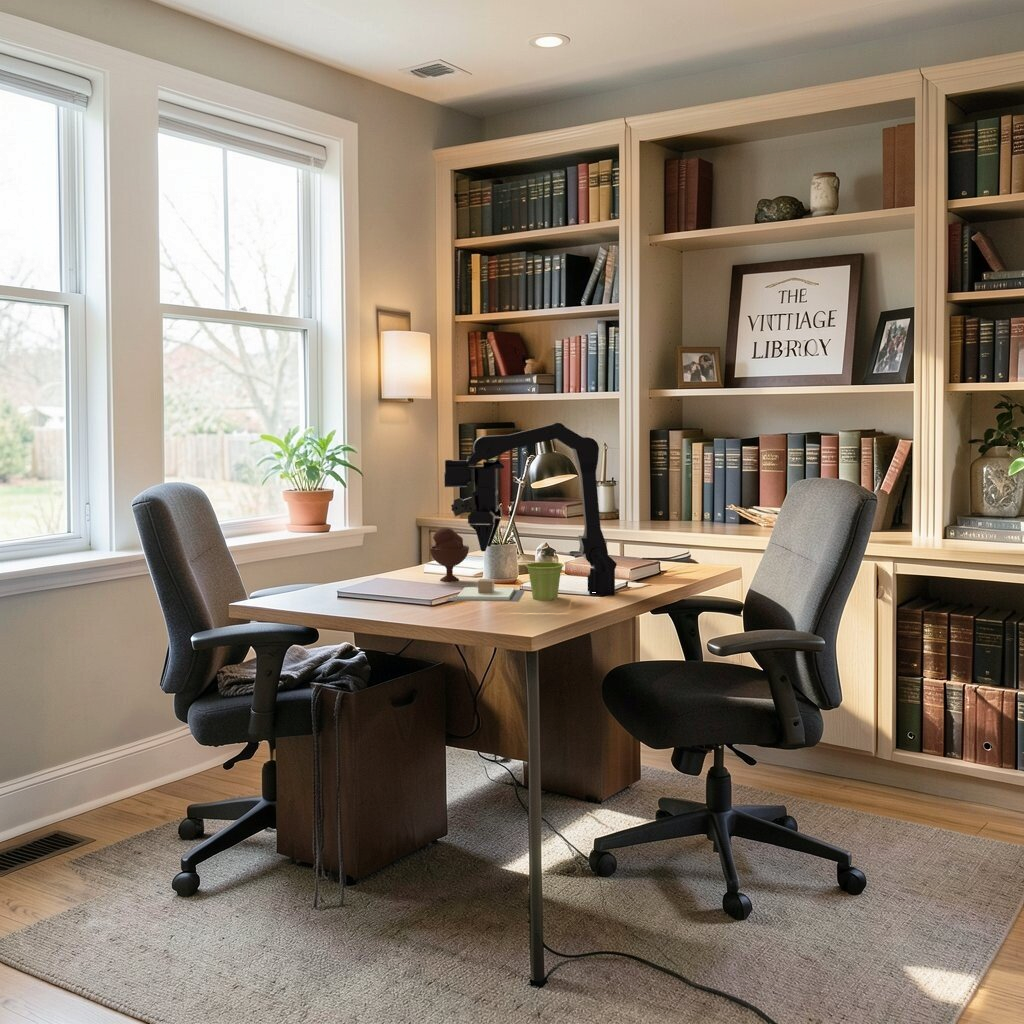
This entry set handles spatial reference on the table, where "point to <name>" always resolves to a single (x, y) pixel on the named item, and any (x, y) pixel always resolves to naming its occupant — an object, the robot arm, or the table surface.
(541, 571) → the plant pot
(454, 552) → the ice cream bowl
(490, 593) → the sage lid
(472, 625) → the table surface
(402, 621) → the table surface
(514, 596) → the gray flat panel
